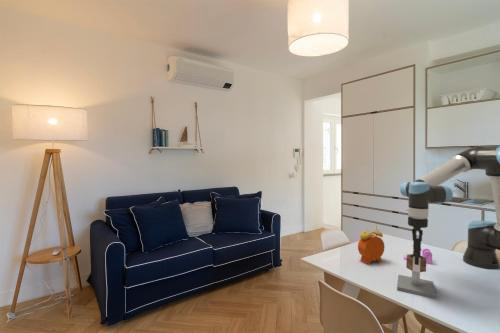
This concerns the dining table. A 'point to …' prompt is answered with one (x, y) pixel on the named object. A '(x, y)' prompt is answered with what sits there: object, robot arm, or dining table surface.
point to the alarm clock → (371, 246)
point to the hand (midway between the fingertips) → (416, 267)
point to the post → (416, 285)
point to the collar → (410, 263)
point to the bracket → (425, 255)
